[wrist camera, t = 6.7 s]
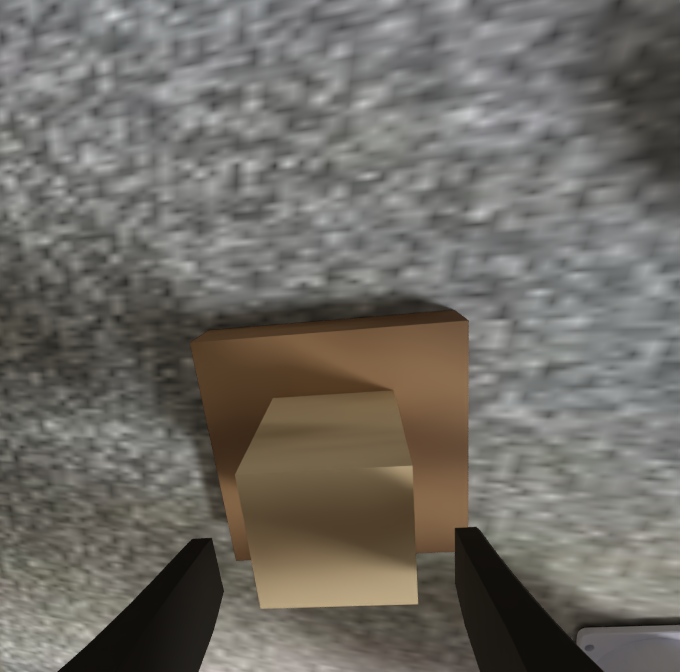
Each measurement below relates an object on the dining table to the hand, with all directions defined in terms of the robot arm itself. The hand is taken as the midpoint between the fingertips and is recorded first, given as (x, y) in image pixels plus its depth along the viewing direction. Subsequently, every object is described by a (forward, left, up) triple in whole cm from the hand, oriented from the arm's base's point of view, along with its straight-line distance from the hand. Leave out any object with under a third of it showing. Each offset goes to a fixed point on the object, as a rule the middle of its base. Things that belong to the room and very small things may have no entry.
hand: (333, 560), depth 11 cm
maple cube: (0, 0, -5) cm, 5 cm away
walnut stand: (0, 0, -7) cm, 7 cm away
